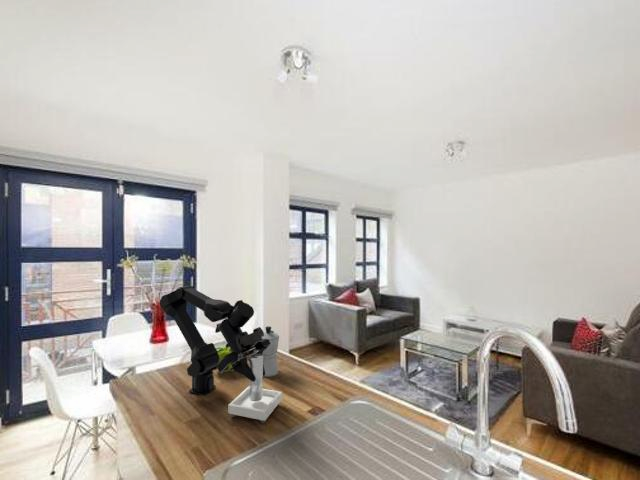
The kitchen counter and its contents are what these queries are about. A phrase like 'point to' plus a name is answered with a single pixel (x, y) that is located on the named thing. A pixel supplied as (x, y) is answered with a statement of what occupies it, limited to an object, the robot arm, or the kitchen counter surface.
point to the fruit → (223, 352)
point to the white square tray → (255, 405)
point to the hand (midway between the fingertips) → (259, 378)
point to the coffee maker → (270, 353)
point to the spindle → (256, 377)
